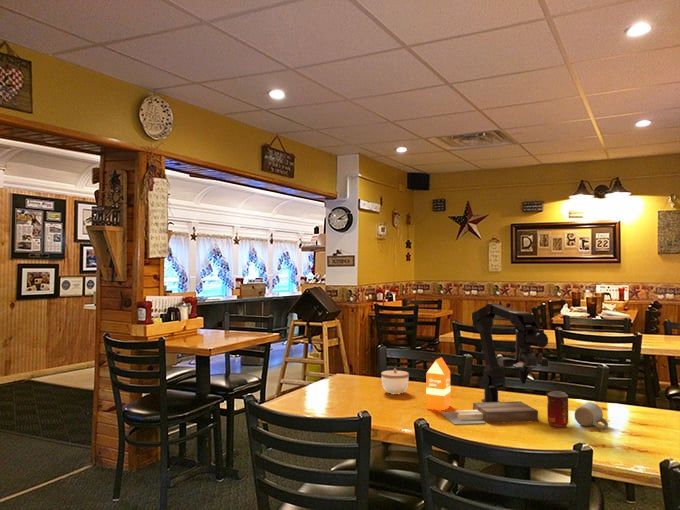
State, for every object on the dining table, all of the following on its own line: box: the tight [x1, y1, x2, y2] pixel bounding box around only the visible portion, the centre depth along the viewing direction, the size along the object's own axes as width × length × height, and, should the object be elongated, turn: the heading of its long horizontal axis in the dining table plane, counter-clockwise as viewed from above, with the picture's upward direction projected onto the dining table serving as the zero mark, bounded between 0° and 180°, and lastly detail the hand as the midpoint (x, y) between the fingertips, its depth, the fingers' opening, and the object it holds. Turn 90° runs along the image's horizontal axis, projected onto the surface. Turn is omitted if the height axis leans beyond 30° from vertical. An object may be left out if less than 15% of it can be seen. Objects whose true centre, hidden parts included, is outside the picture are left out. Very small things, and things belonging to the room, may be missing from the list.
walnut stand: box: [472, 400, 539, 424], centre depth 208 cm, size 14×20×4 cm
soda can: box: [546, 390, 569, 430], centre depth 196 cm, size 7×7×12 cm
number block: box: [454, 409, 483, 420], centre depth 205 cm, size 6×9×2 cm, turn 96°
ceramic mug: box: [574, 401, 609, 430], centre depth 197 cm, size 11×8×8 cm
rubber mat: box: [440, 411, 487, 426], centre depth 205 cm, size 16×12×1 cm
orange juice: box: [425, 357, 451, 411], centre depth 222 cm, size 8×9×20 cm
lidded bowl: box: [380, 368, 410, 395], centre depth 247 cm, size 13×13×11 cm
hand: (523, 383), depth 213 cm, fingers closed
